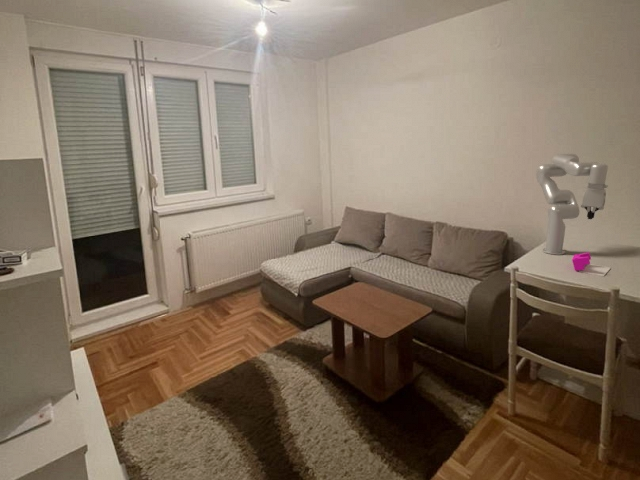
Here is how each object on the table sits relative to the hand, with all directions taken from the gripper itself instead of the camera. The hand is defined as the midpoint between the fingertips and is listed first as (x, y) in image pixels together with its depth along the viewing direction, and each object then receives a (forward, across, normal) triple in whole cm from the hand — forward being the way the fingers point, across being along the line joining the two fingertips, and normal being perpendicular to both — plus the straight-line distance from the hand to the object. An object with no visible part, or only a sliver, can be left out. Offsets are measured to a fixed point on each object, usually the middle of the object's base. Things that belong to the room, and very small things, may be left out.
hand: (590, 218), depth 214 cm
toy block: (+24, +2, +9) cm, 26 cm away
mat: (+27, -8, +6) cm, 29 cm away
